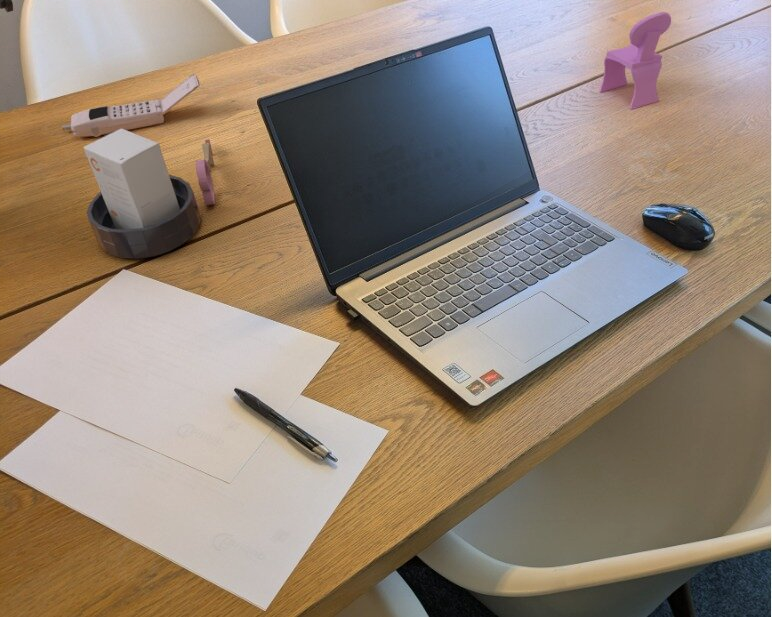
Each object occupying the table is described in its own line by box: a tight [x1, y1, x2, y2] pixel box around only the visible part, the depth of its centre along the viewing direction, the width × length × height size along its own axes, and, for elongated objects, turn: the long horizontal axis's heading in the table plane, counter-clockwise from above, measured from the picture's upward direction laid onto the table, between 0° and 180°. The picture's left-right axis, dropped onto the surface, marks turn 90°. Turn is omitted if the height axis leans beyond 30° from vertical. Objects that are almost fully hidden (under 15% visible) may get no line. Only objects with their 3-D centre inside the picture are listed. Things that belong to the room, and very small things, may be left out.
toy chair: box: [599, 11, 672, 110], centre depth 113 cm, size 8×9×15 cm
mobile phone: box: [61, 73, 201, 138], centre depth 117 cm, size 6×6×25 cm
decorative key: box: [195, 139, 216, 206], centre depth 103 cm, size 7×1×20 cm
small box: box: [83, 128, 180, 230], centre depth 90 cm, size 8×6×13 cm
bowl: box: [86, 174, 201, 260], centre depth 93 cm, size 14×14×5 cm
